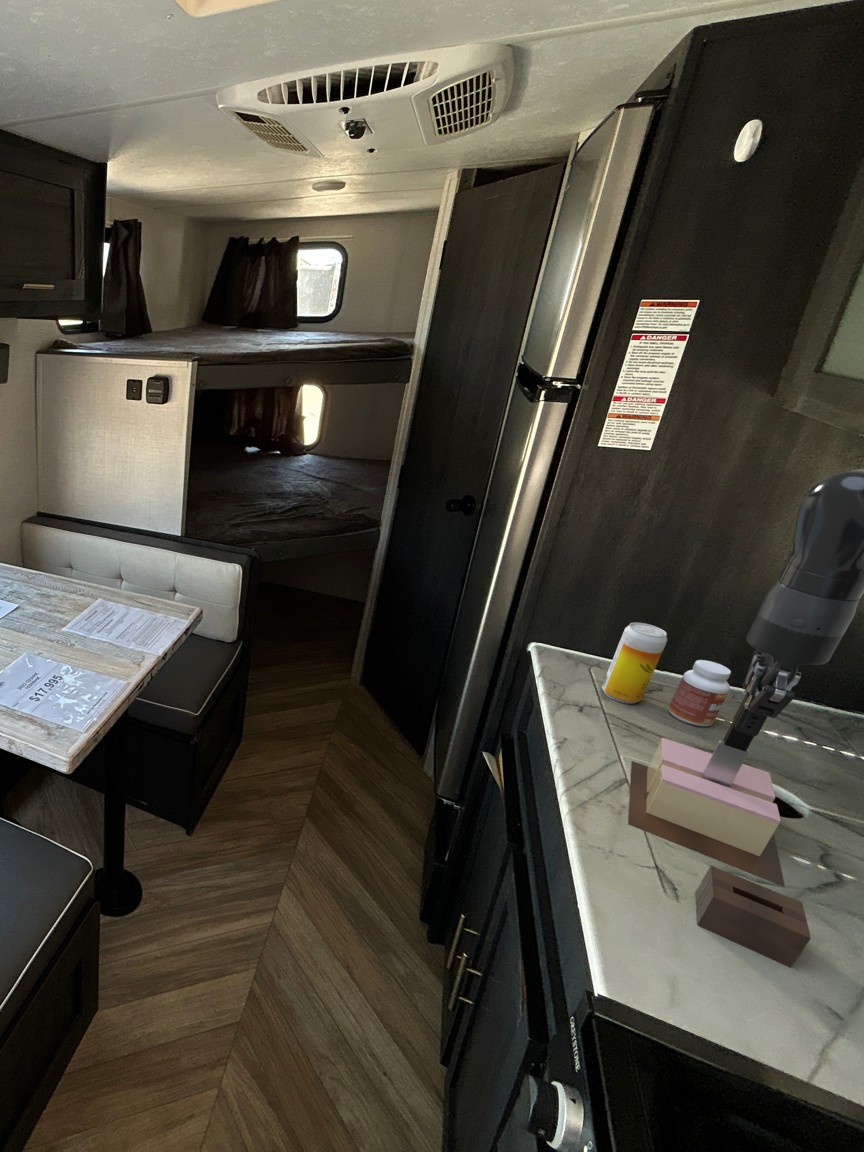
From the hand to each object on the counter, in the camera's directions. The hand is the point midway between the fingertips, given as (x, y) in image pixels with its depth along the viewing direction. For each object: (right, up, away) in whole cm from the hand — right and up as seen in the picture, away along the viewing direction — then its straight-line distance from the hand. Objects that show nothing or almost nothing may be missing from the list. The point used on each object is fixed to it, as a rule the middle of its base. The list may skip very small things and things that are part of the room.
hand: (744, 728), depth 88 cm
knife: (0, -11, +5) cm, 12 cm away
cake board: (0, -16, +6) cm, 17 cm away
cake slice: (-2, -16, +4) cm, 16 cm away
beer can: (+14, -4, +35) cm, 38 cm away
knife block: (-12, -23, -10) cm, 27 cm away
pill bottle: (+22, -6, +29) cm, 37 cm away
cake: (+3, -14, +9) cm, 16 cm away
